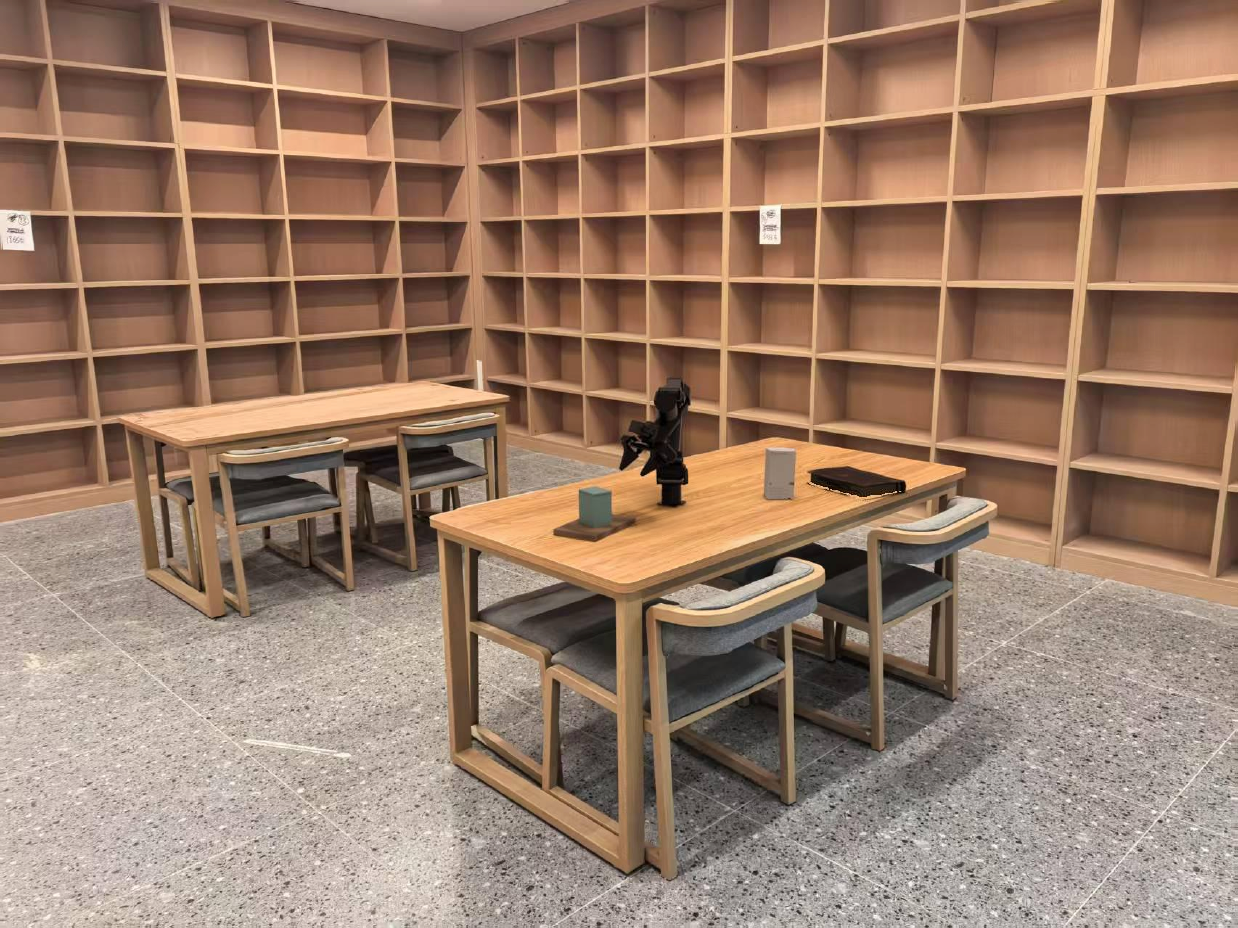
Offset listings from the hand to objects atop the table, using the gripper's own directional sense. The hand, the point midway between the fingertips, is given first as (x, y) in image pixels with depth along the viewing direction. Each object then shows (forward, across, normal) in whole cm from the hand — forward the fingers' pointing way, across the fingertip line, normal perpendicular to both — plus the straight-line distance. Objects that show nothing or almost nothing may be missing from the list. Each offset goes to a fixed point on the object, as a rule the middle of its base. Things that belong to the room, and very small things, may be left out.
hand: (630, 472), depth 248 cm
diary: (-45, +12, +65) cm, 80 cm away
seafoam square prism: (+17, 0, 0) cm, 17 cm away
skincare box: (-26, +6, +46) cm, 53 cm away
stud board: (+18, 0, +1) cm, 18 cm away
